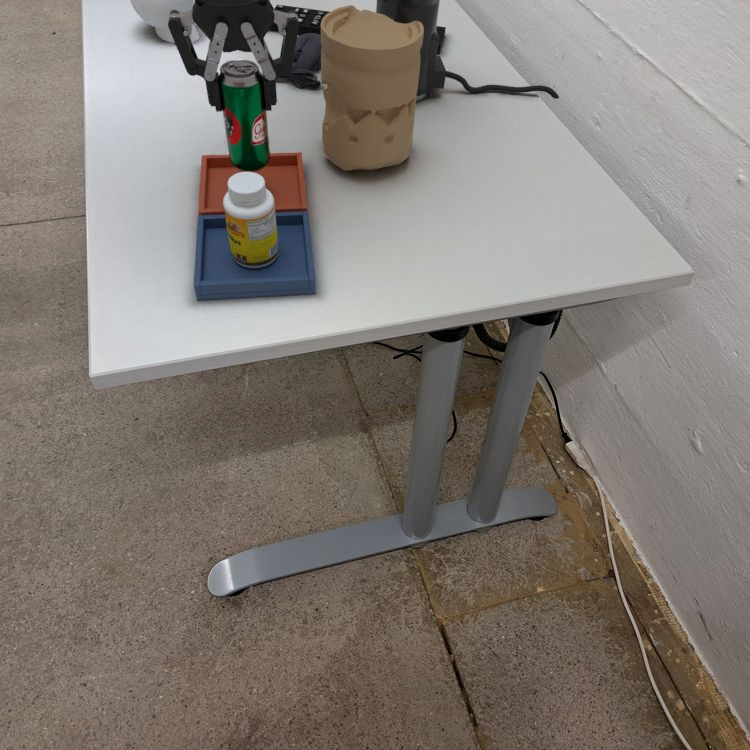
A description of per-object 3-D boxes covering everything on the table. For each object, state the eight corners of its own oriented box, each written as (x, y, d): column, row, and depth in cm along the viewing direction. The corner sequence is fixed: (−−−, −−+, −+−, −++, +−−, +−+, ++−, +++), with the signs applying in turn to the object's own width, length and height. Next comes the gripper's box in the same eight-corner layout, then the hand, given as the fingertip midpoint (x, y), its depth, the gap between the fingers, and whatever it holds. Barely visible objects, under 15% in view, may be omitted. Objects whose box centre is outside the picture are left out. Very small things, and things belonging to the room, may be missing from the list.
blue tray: (308, 225, 81) (307, 210, 79) (315, 293, 74) (315, 279, 72) (201, 230, 80) (197, 215, 78) (197, 300, 72) (193, 285, 70)
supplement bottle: (226, 245, 77) (213, 172, 69) (270, 236, 78) (263, 162, 70) (238, 275, 74) (227, 201, 66) (285, 264, 75) (279, 191, 67)
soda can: (263, 177, 79) (254, 82, 70) (224, 170, 79) (209, 75, 70) (275, 154, 82) (268, 61, 73) (238, 148, 83) (225, 54, 73)
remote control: (276, 13, 120) (275, 1, 118) (444, 35, 117) (446, 24, 116) (264, 30, 115) (263, 18, 113) (439, 54, 112) (440, 42, 111)
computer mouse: (350, 54, 111) (351, 31, 108) (317, 92, 102) (316, 68, 99) (297, 42, 113) (296, 19, 110) (260, 79, 104) (257, 55, 101)
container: (340, 126, 96) (341, -3, 82) (420, 144, 94) (435, 15, 80) (309, 171, 89) (304, 37, 75) (395, 191, 87) (407, 58, 73)
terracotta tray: (302, 166, 89) (301, 152, 87) (308, 222, 82) (307, 207, 80) (204, 170, 88) (201, 155, 86) (201, 227, 80) (198, 212, 78)
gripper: (145, -45, 59) (180, 126, 72) (301, -44, 60) (307, 123, 74) (152, -73, 63) (183, 92, 77) (297, -71, 65) (303, 90, 78)
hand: (244, 107), depth 75 cm, fingers closed on soda can, 5 cm apart
